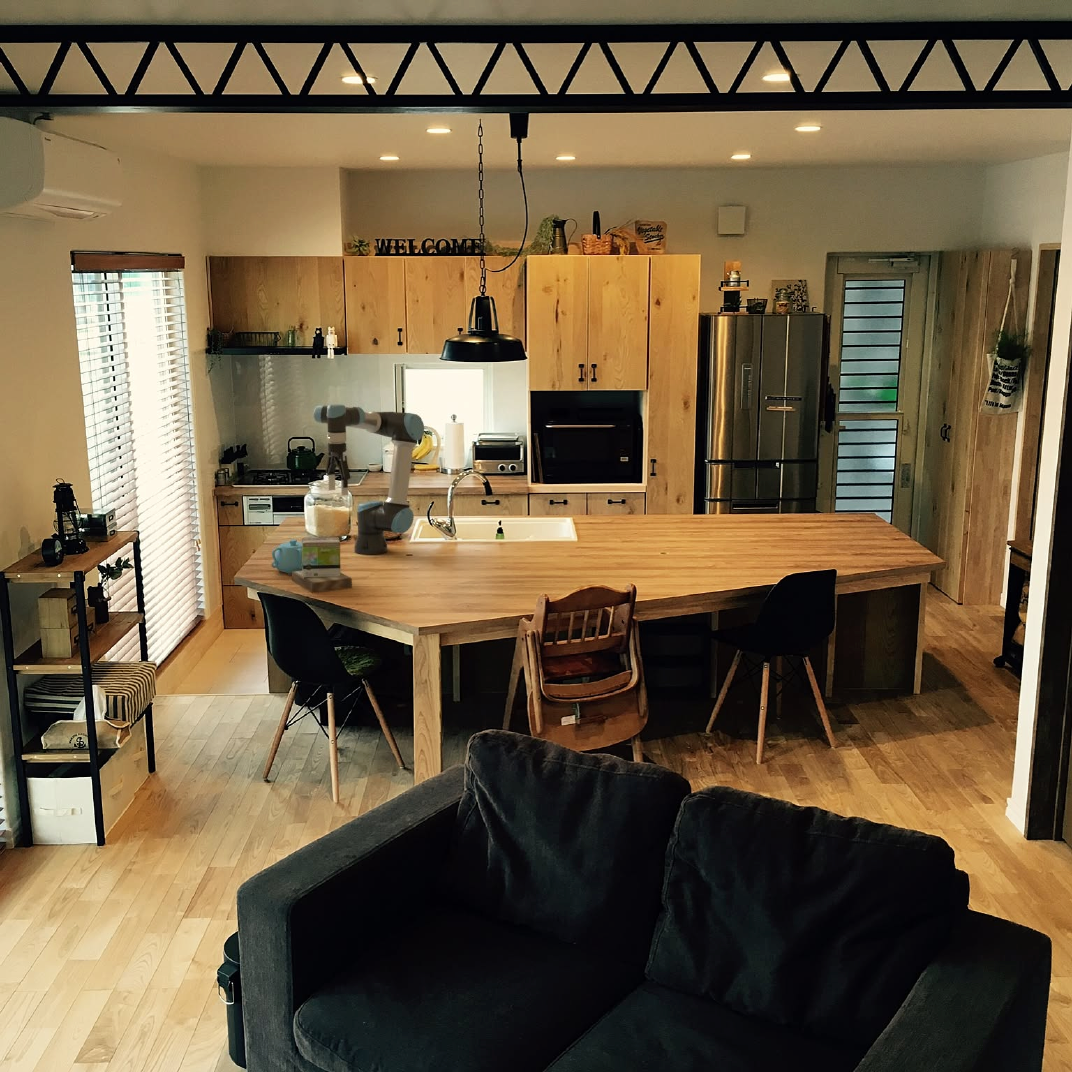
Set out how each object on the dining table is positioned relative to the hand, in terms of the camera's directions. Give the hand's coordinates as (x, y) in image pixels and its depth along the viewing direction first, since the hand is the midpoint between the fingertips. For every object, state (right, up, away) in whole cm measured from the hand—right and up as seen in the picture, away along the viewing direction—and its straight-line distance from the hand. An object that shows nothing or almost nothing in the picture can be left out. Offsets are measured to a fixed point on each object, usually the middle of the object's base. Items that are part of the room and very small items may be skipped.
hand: (338, 492), depth 477 cm
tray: (-5, -38, -11) cm, 40 cm away
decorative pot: (-21, -33, +9) cm, 40 cm away
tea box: (-5, -34, -12) cm, 37 cm away
